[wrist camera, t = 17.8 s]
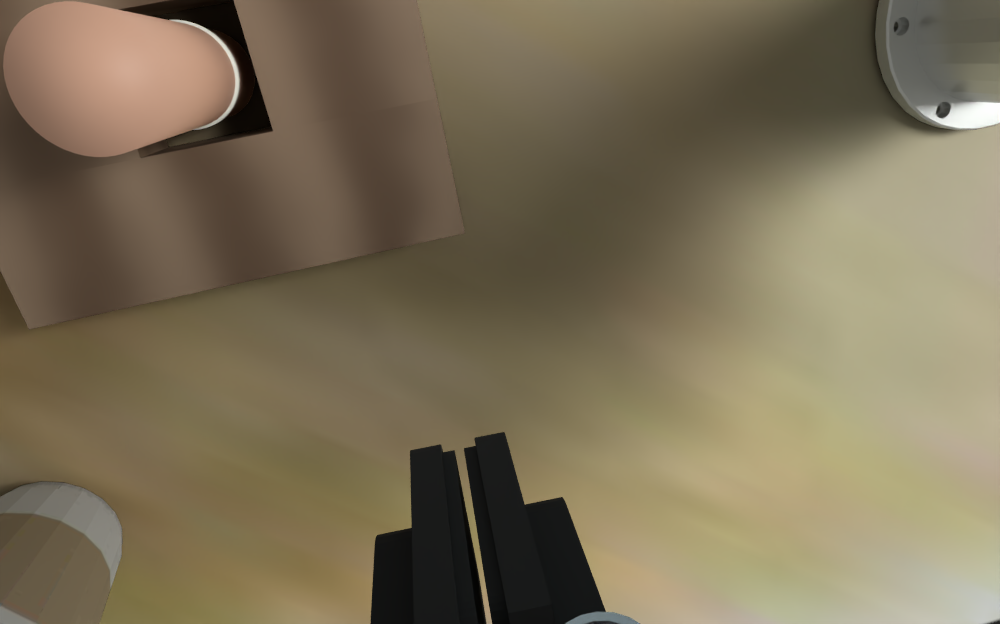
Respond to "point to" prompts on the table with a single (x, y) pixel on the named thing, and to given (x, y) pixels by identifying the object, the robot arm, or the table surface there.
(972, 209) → the table surface
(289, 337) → the table surface
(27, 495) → the coffee cup
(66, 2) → the peg
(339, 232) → the board
